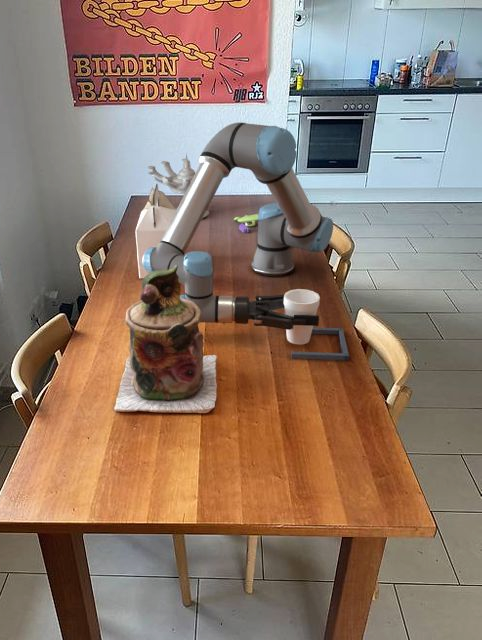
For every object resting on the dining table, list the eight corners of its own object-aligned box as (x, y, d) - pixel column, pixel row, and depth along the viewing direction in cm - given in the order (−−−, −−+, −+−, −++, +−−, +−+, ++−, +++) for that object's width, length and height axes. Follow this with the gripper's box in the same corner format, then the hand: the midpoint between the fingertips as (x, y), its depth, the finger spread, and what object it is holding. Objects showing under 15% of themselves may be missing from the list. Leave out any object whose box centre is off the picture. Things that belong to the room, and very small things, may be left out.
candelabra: (157, 203, 279) (154, 143, 264) (230, 205, 275) (230, 144, 260) (142, 226, 251) (137, 161, 236) (222, 229, 246) (222, 162, 232)
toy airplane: (293, 236, 237) (294, 223, 234) (228, 233, 242) (229, 220, 239) (296, 222, 252) (297, 209, 249) (235, 219, 257) (236, 206, 254)
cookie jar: (127, 360, 158) (115, 248, 140) (217, 361, 157) (217, 247, 139) (112, 415, 137) (97, 291, 119) (216, 416, 136) (216, 290, 119)
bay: (291, 358, 157) (291, 353, 156) (289, 331, 170) (289, 326, 169) (348, 360, 156) (349, 355, 155) (342, 332, 169) (342, 328, 168)
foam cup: (278, 331, 166) (281, 289, 159) (310, 329, 166) (314, 288, 159) (285, 348, 158) (288, 305, 151) (318, 346, 158) (323, 303, 151)
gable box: (145, 255, 222) (139, 181, 207) (179, 255, 222) (176, 180, 207) (139, 279, 204) (132, 199, 188) (176, 278, 203) (173, 198, 188)
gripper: (236, 304, 170) (313, 306, 168) (232, 341, 152) (318, 344, 150) (236, 280, 166) (315, 282, 164) (232, 315, 148) (321, 318, 146)
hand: (317, 312), depth 157 cm, fingers closed on foam cup, 9 cm apart
